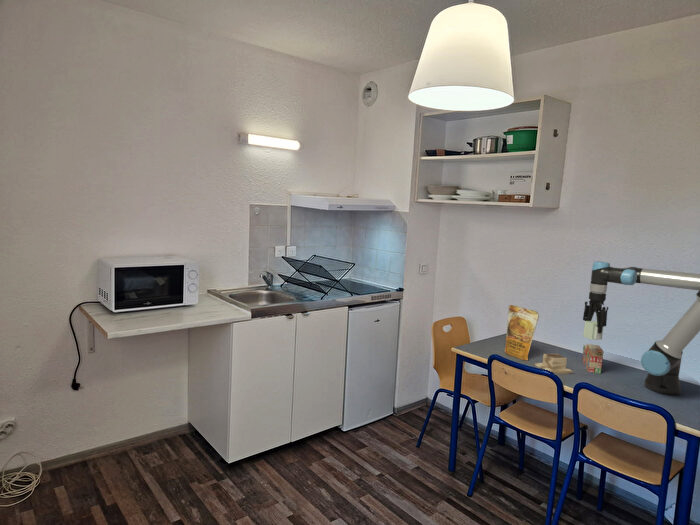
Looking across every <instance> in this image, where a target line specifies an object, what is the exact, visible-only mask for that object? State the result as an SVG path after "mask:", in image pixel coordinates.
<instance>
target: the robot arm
mask: <svg viewBox="0 0 700 525" xmlns="http://www.w3.org/2000/svg"><path fill="white" fill-rule="evenodd" d="M590 277H591V278H590V284H589V291H590V292H589V293H588V295H589V296H588V299H589V301H584V309H583V310H584V312H583V314H582V315H583V316H582V320H583V321H584V322H585V321H593V320H592V319H593V317H594V314H595V313H596V314H595V316H596V321H597V325H598V326H596V331H595V339H599V340H601V339H600V337H601V333H602V327H603V328H604V327H607V320H608V310H609V306H605V301H606V299H607V298H606V297H607V290H608V283H612V284H613V283H615V284H619V285H624V286H633V285H635V284H642V285H643V284H644V285H650V286H651V285H654V286H660V287H666V288H667V287H668V288H676V289H683V290H692V291H697V292H696V295H695V296H696V300H694V302H693V303H692V305H690V307H689V308H688V309H687V310H686V312H685V313H684V314H683V315H682V316H681V317H680V319H679V320H678V321H676V323H675V325H674V326H673V327H672V328H671V329H670V330H669V332H668V333H667V334H666V335H665V336H664V337H663V339H661V340H660V339H659V340H655V341H654V342H653V344H652V345H651V346H650V348H649V349H648V350H647V351H644V353H643V354H642V355H641V357H640V363H641V367H642V368H643V370H644V371H645V372H647V375H646V378H645V379H644V382H643V385H644V387H645V388H647V389H649V390H651V391H653V392H657V393H660V394H665V395H673V396H675V395H681V393H682V386H681V383H680V371H681V364H682V358H683V354H684V353H683V352H684V350H685V348H687V346H688V345H689V344H690V343H691V342H692V340H693V339H695V337H696V336H697V335H698V334H699V332H700V273H692V272H684V271H673V270H662V269H653V268H642V267H636V266H629V267H621V268H620V267H613V266H611V264H610V263H609V262H607V261H594V262H593V264H592V268H591V276H590Z"/></svg>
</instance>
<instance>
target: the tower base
mask: <svg viewBox="0 0 700 525" xmlns="http://www.w3.org/2000/svg"><path fill="white" fill-rule="evenodd" d="M567 359H568V358H566V357H565V356H563V355H560V354H558V353H543V356H542V362H534V366H536V367H537V368H539V369H541V368H542V369H545V370H548V371H550V372H553V373H555V374H554V375H570V374H569V373H573V374H574V371H573V370H571V369H570V368H567V361H568V360H567ZM542 369H541V370H542Z"/></svg>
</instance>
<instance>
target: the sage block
mask: <svg viewBox="0 0 700 525" xmlns="http://www.w3.org/2000/svg"><path fill="white" fill-rule="evenodd" d="M596 326H598V325H597V320H591V321H584V327H583V334H582V336H583V337H584V338H586V339H589V340H591V341H592V340H595V341H598V340H602V339H603V331H604V327H602V333H601V337H600V339H595V331H596Z"/></svg>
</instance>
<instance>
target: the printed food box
mask: <svg viewBox="0 0 700 525" xmlns="http://www.w3.org/2000/svg"><path fill="white" fill-rule="evenodd" d="M604 354H605V352H604V350H603V348H602V347H601V346H600V345H599V344H592V343H591V344H590V343H587V344H583V348H582V358H581V359H582V360H583V361H582V360H581V361H582V363H583V366H584V367H585V368H586V371H588V372H587V373H590V372H593V373H592V374H597V373H598V374H599V375H601V374H602V366H603V359H604Z"/></svg>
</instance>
